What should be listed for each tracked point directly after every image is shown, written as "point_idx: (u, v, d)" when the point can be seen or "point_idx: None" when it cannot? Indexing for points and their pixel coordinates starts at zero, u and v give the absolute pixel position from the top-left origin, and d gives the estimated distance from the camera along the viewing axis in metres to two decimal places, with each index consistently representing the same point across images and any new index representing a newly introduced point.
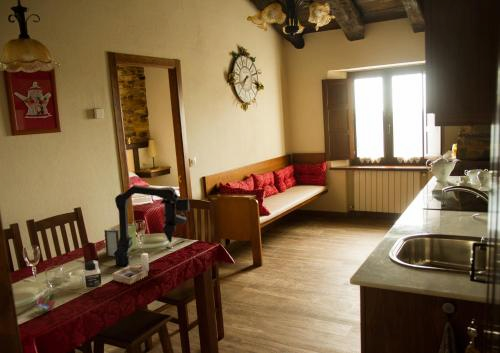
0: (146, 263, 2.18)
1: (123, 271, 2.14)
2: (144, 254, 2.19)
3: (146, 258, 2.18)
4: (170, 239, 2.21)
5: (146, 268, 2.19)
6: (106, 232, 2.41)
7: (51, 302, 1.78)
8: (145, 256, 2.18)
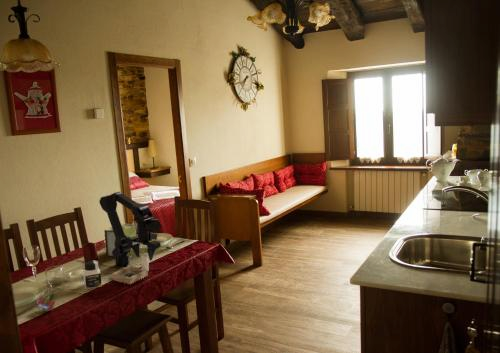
0: (146, 263, 2.18)
1: (123, 271, 2.14)
2: (144, 254, 2.19)
3: (146, 258, 2.18)
4: (152, 257, 2.17)
5: (146, 268, 2.19)
6: (106, 232, 2.41)
7: (51, 302, 1.78)
8: (145, 256, 2.18)
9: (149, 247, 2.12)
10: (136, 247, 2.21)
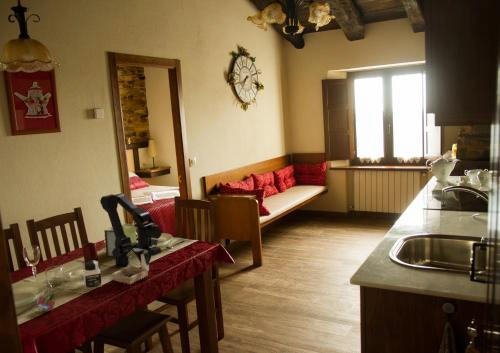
0: None
1: (123, 271, 2.14)
2: None
3: None
4: (148, 262, 2.19)
5: (146, 268, 2.19)
6: (106, 232, 2.41)
7: (51, 302, 1.78)
8: None
9: (149, 253, 2.12)
10: (140, 254, 2.20)
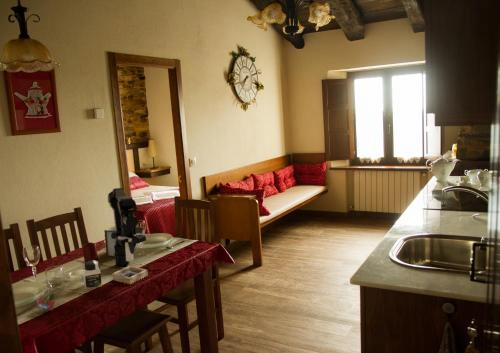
0: (130, 252, 2.08)
1: (123, 271, 2.14)
2: None
3: None
4: (133, 250, 2.08)
5: (130, 257, 2.08)
6: (106, 232, 2.41)
7: (51, 302, 1.78)
8: None
9: (134, 241, 2.02)
10: (124, 242, 2.09)
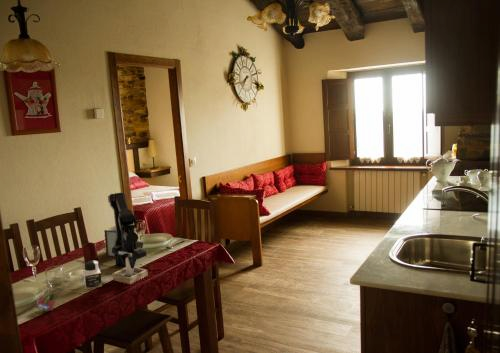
0: None
1: (123, 271, 2.14)
2: None
3: None
4: (133, 265, 2.09)
5: (131, 272, 2.10)
6: (106, 232, 2.41)
7: (51, 302, 1.78)
8: None
9: (134, 256, 2.03)
10: (125, 257, 2.11)
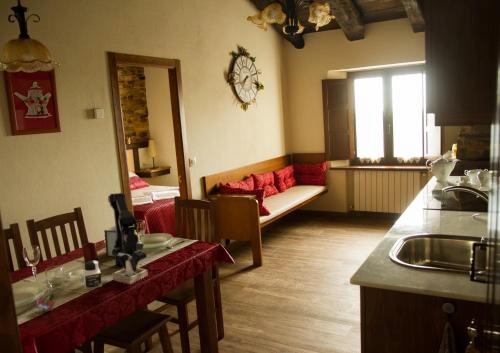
0: (131, 270, 2.10)
1: (123, 271, 2.14)
2: (129, 261, 2.10)
3: (131, 265, 2.09)
4: (135, 267, 2.09)
5: (131, 275, 2.10)
6: (106, 232, 2.41)
7: (51, 302, 1.78)
8: (130, 263, 2.09)
9: (134, 258, 2.03)
10: (123, 258, 2.11)
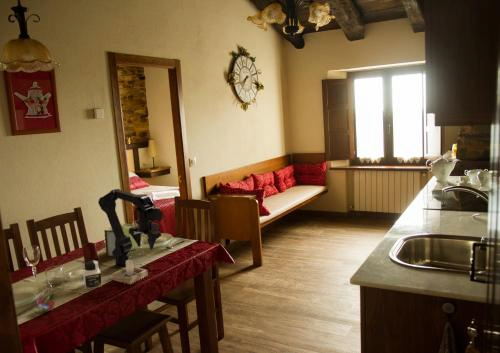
0: (131, 270, 2.10)
1: (123, 271, 2.14)
2: (129, 261, 2.10)
3: (131, 265, 2.09)
4: (152, 246, 2.17)
5: (131, 275, 2.10)
6: (106, 232, 2.41)
7: (51, 302, 1.78)
8: (130, 263, 2.09)
9: (149, 236, 2.12)
10: (137, 237, 2.21)
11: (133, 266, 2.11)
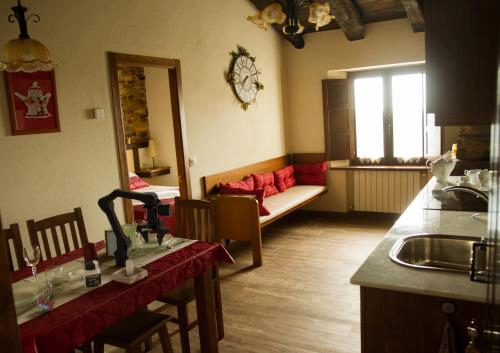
0: (131, 270, 2.10)
1: (123, 271, 2.14)
2: (129, 261, 2.10)
3: (131, 265, 2.09)
4: (161, 242, 2.23)
5: (131, 275, 2.10)
6: (106, 232, 2.41)
7: (51, 302, 1.78)
8: (130, 263, 2.09)
9: (158, 233, 2.18)
10: (145, 233, 2.27)
11: (133, 266, 2.11)
